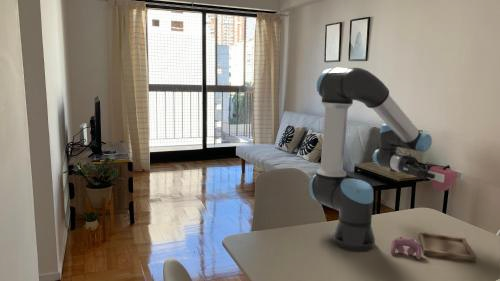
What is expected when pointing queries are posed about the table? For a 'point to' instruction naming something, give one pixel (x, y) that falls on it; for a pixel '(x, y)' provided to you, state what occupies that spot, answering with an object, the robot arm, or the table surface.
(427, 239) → the walnut tray
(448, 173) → the apple
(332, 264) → the table surface
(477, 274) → the table surface
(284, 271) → the table surface
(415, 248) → the video game controller
